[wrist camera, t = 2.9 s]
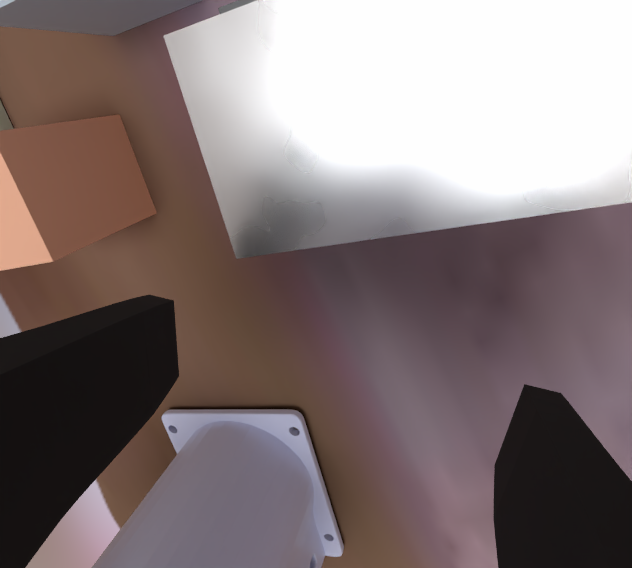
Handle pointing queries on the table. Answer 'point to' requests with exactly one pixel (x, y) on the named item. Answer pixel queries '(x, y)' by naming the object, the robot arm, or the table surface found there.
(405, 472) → the table surface
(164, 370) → the robot arm
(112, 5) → the slate block
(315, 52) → the housing
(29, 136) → the terracotta block
